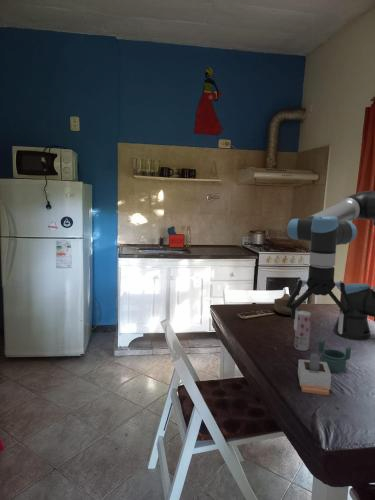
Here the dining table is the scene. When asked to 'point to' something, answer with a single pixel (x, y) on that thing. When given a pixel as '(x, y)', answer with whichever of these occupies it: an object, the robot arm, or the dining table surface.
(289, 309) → the bowl
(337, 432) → the dining table surface
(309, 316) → the beverage can
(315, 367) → the keeper
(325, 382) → the white square sleeve
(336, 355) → the bracket
